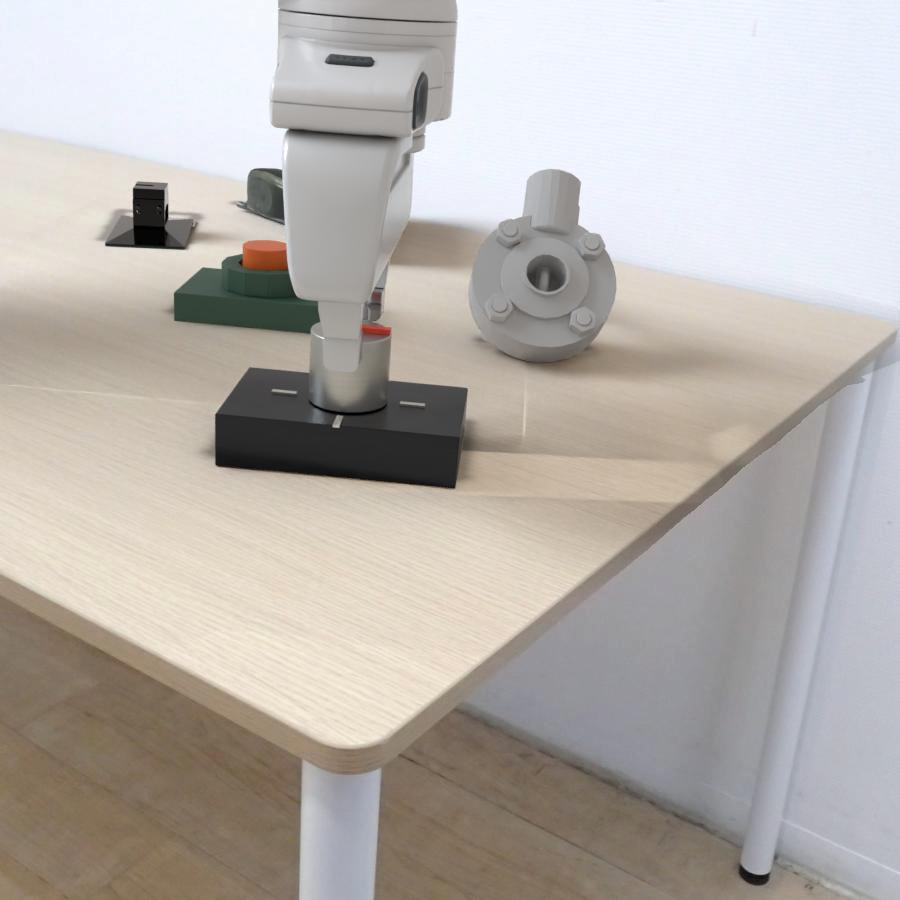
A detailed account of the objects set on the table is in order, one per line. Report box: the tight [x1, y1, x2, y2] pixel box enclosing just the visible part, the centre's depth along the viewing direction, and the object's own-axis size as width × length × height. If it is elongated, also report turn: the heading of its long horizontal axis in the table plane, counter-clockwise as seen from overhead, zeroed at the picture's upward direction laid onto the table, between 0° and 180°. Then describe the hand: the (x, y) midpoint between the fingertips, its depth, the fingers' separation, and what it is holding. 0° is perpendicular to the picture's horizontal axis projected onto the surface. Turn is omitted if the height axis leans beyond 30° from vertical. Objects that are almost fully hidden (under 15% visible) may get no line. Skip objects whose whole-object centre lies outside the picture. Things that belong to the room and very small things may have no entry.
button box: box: [173, 253, 320, 334], centre depth 89 cm, size 12×8×4 cm, turn 86°
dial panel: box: [214, 366, 469, 490], centre depth 66 cm, size 13×9×3 cm, turn 86°
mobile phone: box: [236, 167, 285, 225], centre depth 120 cm, size 5×3×15 cm
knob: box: [308, 320, 393, 413], centre depth 65 cm, size 4×4×4 cm
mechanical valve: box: [467, 168, 617, 364], centre depth 91 cm, size 10×18×15 cm
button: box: [242, 239, 288, 270], centre depth 88 cm, size 4×4×2 cm
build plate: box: [104, 181, 197, 251], centre depth 111 cm, size 12×7×5 cm, turn 8°
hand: (355, 341), depth 64 cm, fingers open, 8 cm apart
